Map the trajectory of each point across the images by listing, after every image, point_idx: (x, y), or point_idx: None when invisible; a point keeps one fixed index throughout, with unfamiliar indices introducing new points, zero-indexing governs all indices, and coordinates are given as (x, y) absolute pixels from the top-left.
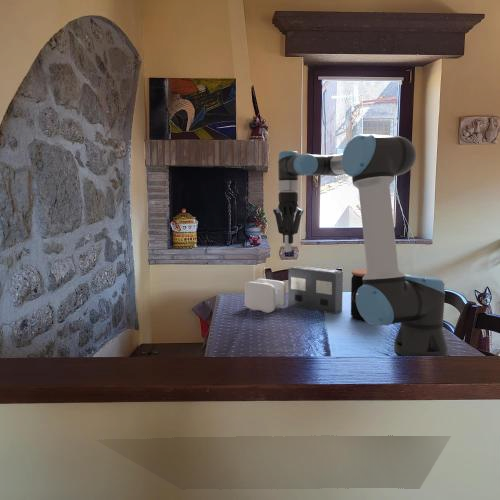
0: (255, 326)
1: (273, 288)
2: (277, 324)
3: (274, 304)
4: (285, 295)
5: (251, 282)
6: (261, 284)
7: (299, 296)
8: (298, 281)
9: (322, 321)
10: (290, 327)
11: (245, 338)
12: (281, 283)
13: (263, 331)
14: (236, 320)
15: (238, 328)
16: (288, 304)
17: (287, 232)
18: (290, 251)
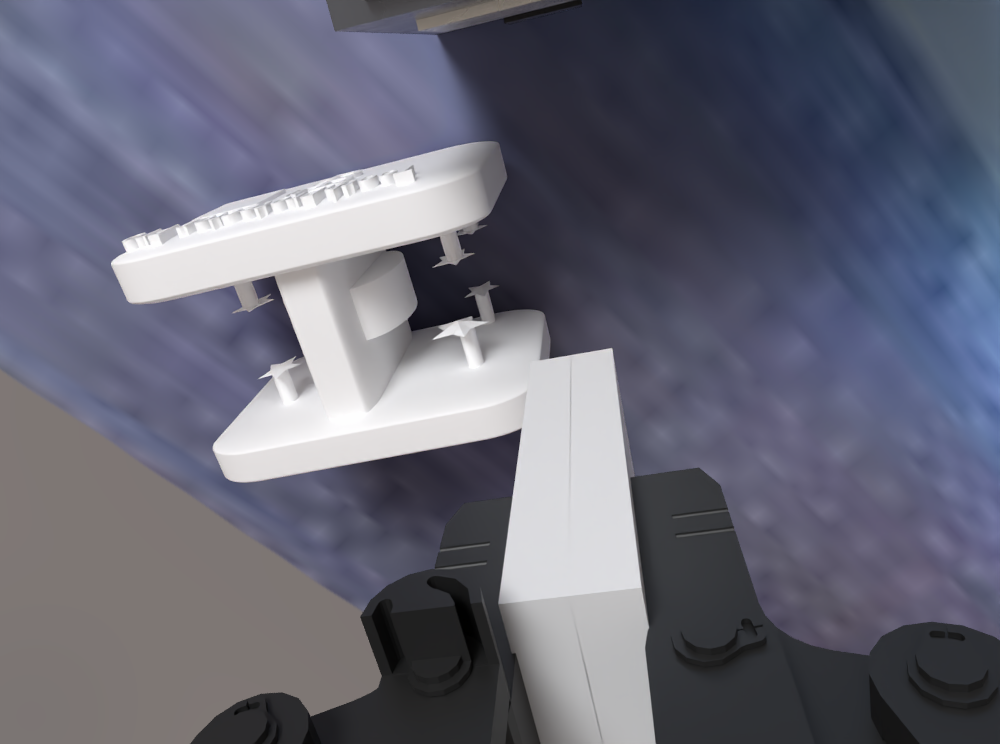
0: None
1: None
2: (752, 472)
3: (545, 335)
4: (492, 160)
5: (288, 475)
6: (407, 453)
7: (562, 9)
8: (540, 3)
9: (980, 197)
10: (863, 461)
11: None
12: (460, 228)
13: (779, 609)
14: None
15: None
16: (437, 34)
17: (501, 729)
18: (618, 384)
